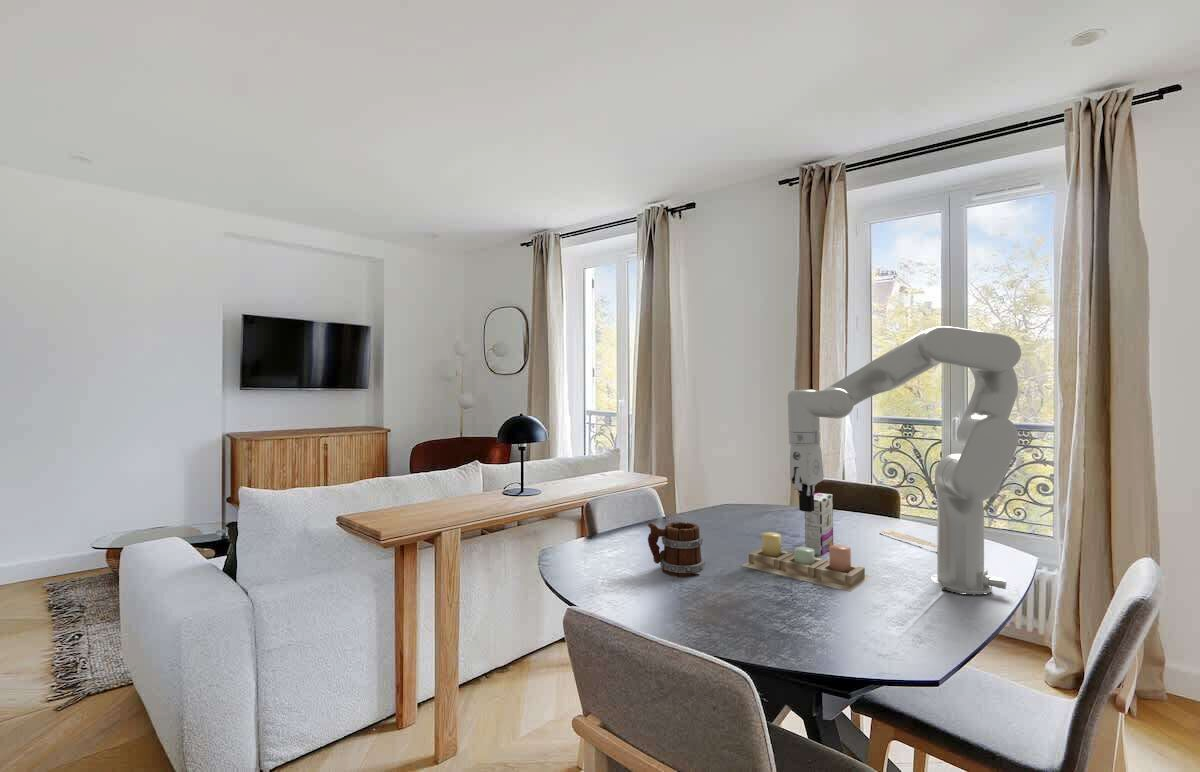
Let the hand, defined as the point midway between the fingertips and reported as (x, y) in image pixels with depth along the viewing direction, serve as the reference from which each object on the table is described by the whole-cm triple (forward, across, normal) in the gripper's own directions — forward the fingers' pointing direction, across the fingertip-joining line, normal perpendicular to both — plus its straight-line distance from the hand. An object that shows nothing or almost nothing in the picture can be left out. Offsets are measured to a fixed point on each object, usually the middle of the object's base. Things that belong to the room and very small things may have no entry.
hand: (806, 510), depth 150 cm
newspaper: (+18, +51, -12) cm, 56 cm away
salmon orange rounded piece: (+13, 0, -8) cm, 15 cm away
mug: (+16, -20, +27) cm, 37 cm away
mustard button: (+13, 0, +10) cm, 16 cm away
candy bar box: (+17, +20, +6) cm, 27 cm away
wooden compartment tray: (+16, 0, +1) cm, 17 cm away
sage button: (+15, -1, +1) cm, 15 cm away
